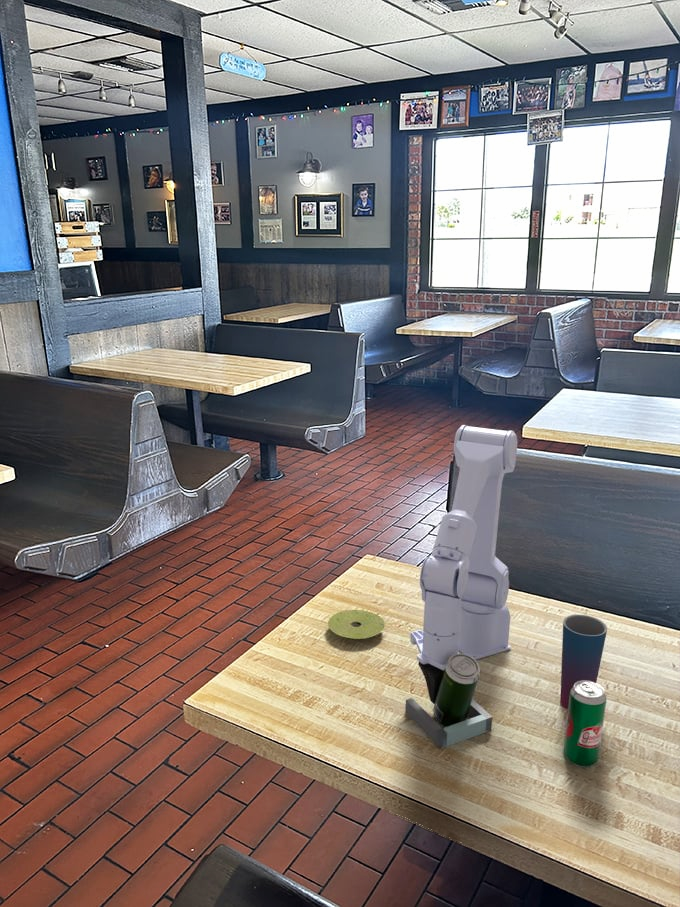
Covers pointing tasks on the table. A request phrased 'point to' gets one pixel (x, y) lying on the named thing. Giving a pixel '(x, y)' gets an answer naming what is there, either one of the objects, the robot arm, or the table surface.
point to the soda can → (584, 723)
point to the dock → (454, 733)
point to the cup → (580, 652)
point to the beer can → (456, 689)
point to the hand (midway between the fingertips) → (437, 700)
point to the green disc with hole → (356, 624)
